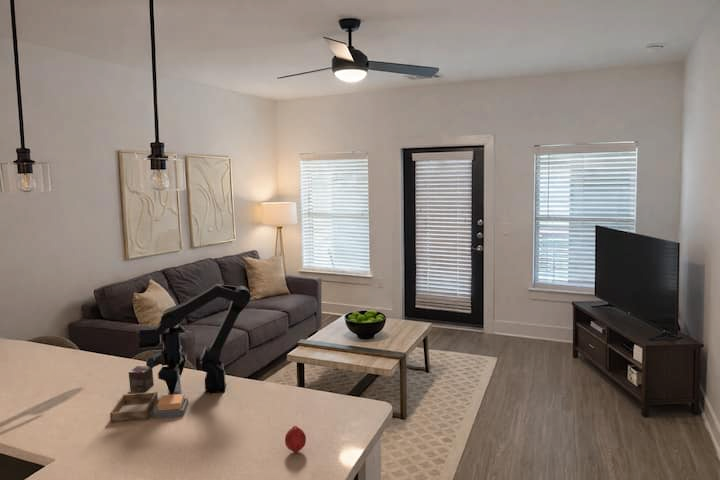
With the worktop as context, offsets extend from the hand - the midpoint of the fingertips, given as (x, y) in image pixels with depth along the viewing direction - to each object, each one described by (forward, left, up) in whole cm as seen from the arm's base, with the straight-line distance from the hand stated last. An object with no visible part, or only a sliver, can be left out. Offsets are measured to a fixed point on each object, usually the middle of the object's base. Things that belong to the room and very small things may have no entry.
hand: (174, 387), depth 180 cm
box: (+13, -8, -3) cm, 16 cm away
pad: (-1, +13, 0) cm, 13 cm away
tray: (+11, +11, -2) cm, 15 cm away
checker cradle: (-1, +13, -2) cm, 13 cm away
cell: (0, 0, -3) cm, 3 cm away
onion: (-41, +45, -3) cm, 61 cm away
